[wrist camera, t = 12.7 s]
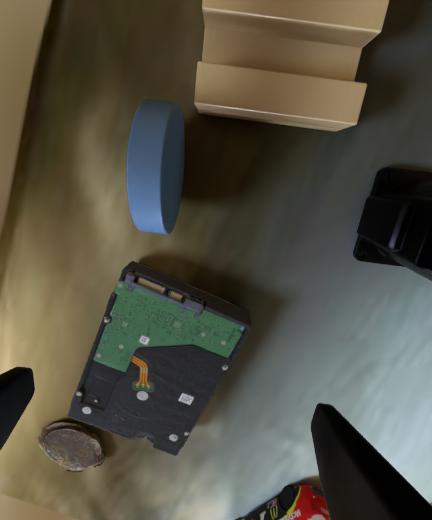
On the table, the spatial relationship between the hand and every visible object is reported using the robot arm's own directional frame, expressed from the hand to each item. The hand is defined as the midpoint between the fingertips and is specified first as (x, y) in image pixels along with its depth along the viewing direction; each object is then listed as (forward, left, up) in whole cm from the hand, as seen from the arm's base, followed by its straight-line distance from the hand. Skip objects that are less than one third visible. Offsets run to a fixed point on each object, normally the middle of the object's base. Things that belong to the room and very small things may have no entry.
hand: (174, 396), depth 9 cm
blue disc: (+3, -6, -13) cm, 15 cm away
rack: (-3, -15, -13) cm, 20 cm away
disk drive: (+3, +9, -13) cm, 16 cm away
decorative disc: (+11, +21, -13) cm, 27 cm away
